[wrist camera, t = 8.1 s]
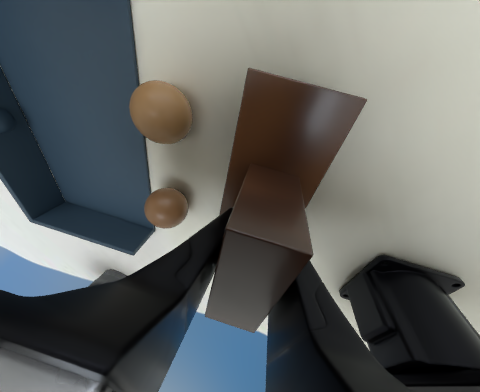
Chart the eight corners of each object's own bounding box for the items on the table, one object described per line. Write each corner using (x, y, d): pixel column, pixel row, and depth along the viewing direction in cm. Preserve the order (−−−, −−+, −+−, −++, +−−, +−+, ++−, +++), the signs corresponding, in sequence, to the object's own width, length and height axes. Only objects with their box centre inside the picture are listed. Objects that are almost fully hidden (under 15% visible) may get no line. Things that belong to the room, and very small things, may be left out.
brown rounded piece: (195, 187, 14) (175, 211, 11) (193, 215, 16) (176, 241, 13) (158, 176, 14) (130, 197, 12) (161, 205, 16) (137, 229, 13)
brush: (346, 95, 8) (502, 126, 2) (265, 257, 16) (255, 359, 10) (256, 71, 8) (198, 46, 3) (218, 243, 16) (182, 334, 10)
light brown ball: (203, 88, 10) (175, 90, 7) (199, 141, 12) (175, 158, 9) (151, 74, 10) (106, 71, 8) (155, 129, 12) (120, 142, 9)
